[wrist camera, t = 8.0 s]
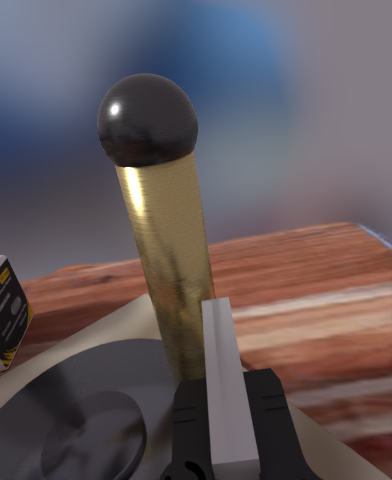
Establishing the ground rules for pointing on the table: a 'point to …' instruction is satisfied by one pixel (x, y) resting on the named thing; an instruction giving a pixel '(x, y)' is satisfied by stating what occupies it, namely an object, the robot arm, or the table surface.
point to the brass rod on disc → (163, 301)
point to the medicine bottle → (11, 314)
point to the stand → (308, 431)
